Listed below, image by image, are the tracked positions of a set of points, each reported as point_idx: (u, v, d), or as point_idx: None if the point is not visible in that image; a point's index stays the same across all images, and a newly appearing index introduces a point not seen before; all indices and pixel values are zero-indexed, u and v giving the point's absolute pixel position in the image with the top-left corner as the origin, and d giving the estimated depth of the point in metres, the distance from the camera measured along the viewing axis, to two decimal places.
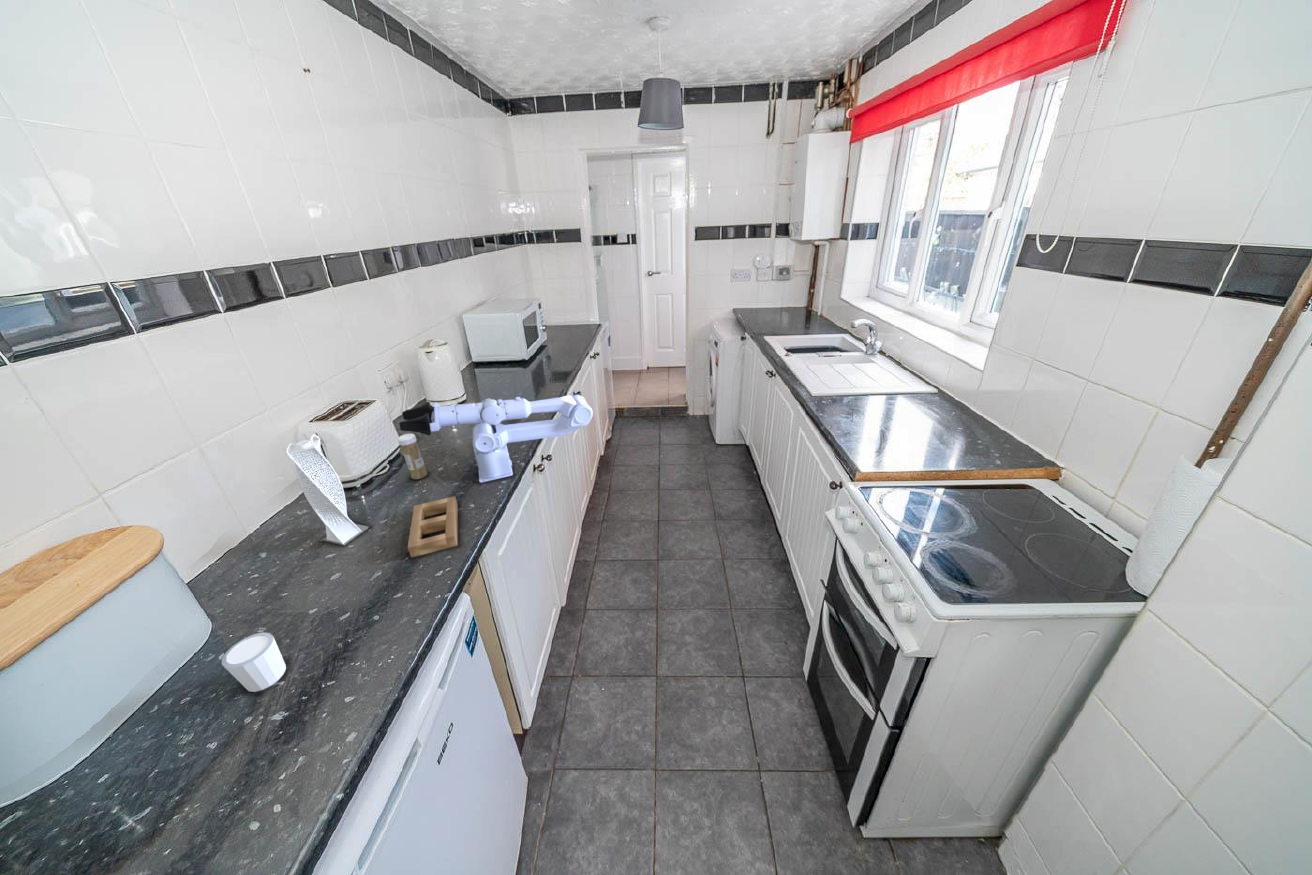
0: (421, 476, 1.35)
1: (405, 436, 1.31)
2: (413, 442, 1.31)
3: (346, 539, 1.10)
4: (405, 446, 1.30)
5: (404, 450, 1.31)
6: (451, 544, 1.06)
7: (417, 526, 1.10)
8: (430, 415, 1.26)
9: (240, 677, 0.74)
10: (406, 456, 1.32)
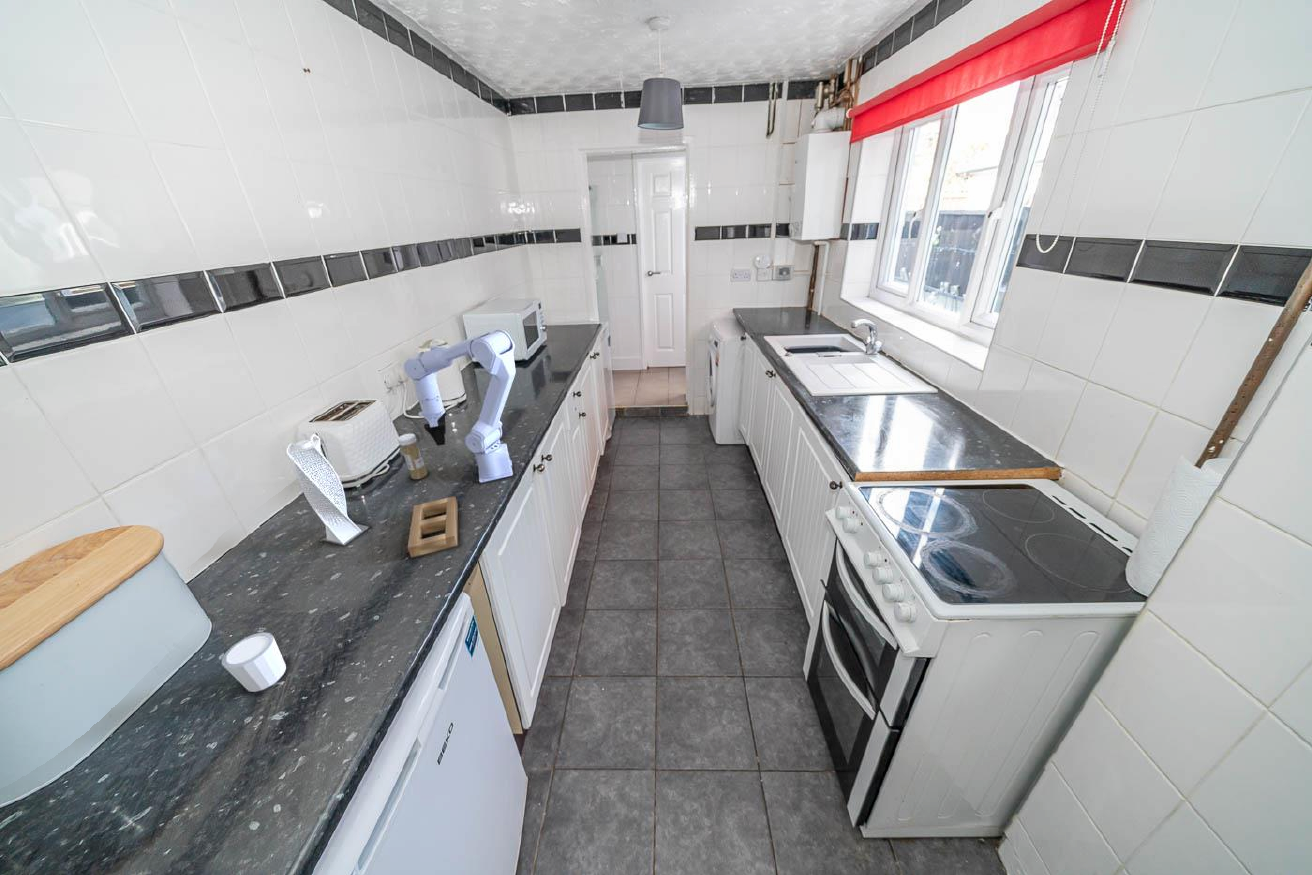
0: (421, 476, 1.35)
1: (405, 436, 1.31)
2: (413, 442, 1.31)
3: (346, 539, 1.10)
4: (405, 446, 1.30)
5: (404, 450, 1.31)
6: (451, 544, 1.06)
7: (417, 526, 1.10)
8: None
9: (240, 677, 0.74)
10: (406, 456, 1.32)
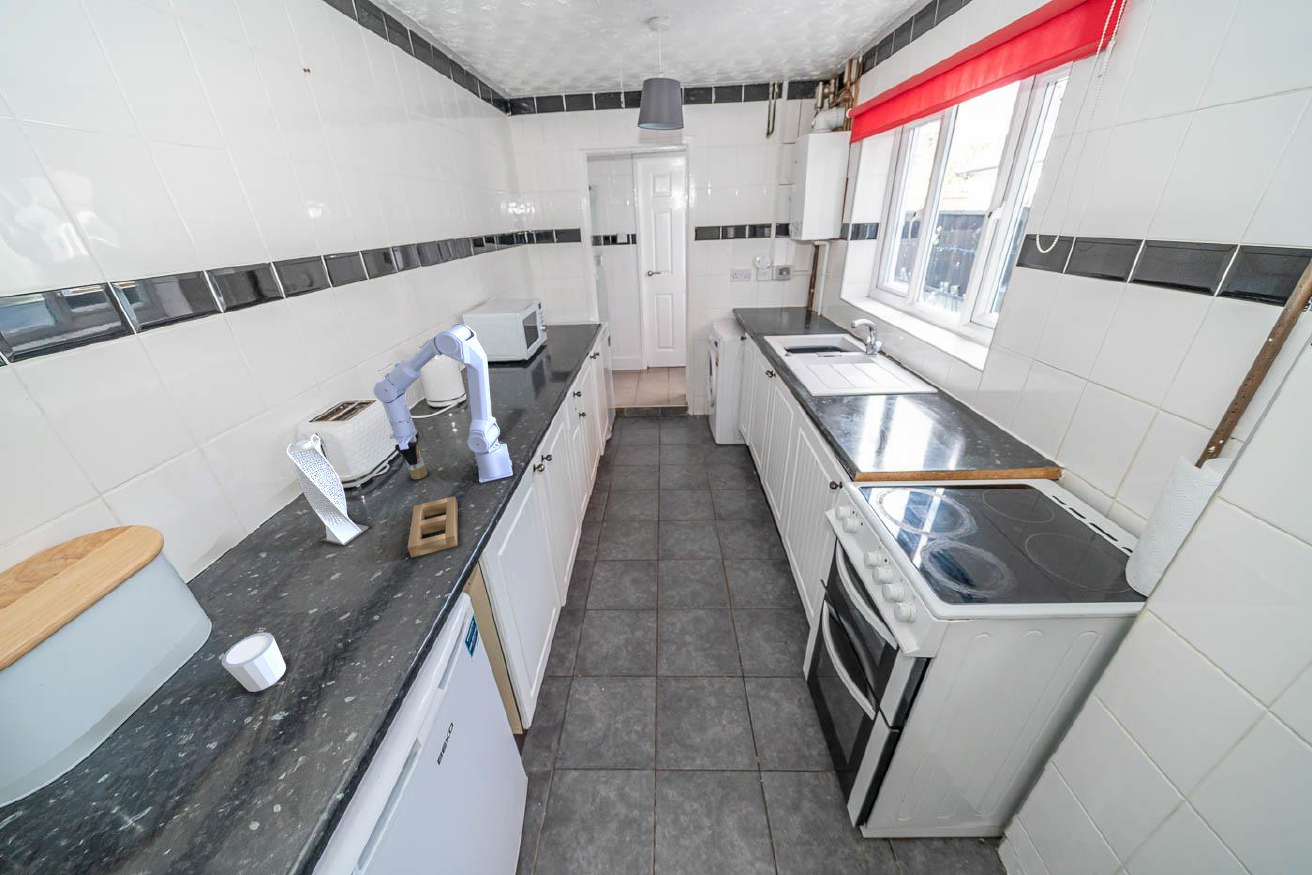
0: (421, 476, 1.35)
1: None
2: None
3: (346, 539, 1.10)
4: None
5: None
6: (451, 544, 1.06)
7: (417, 526, 1.10)
8: None
9: (240, 677, 0.74)
10: None
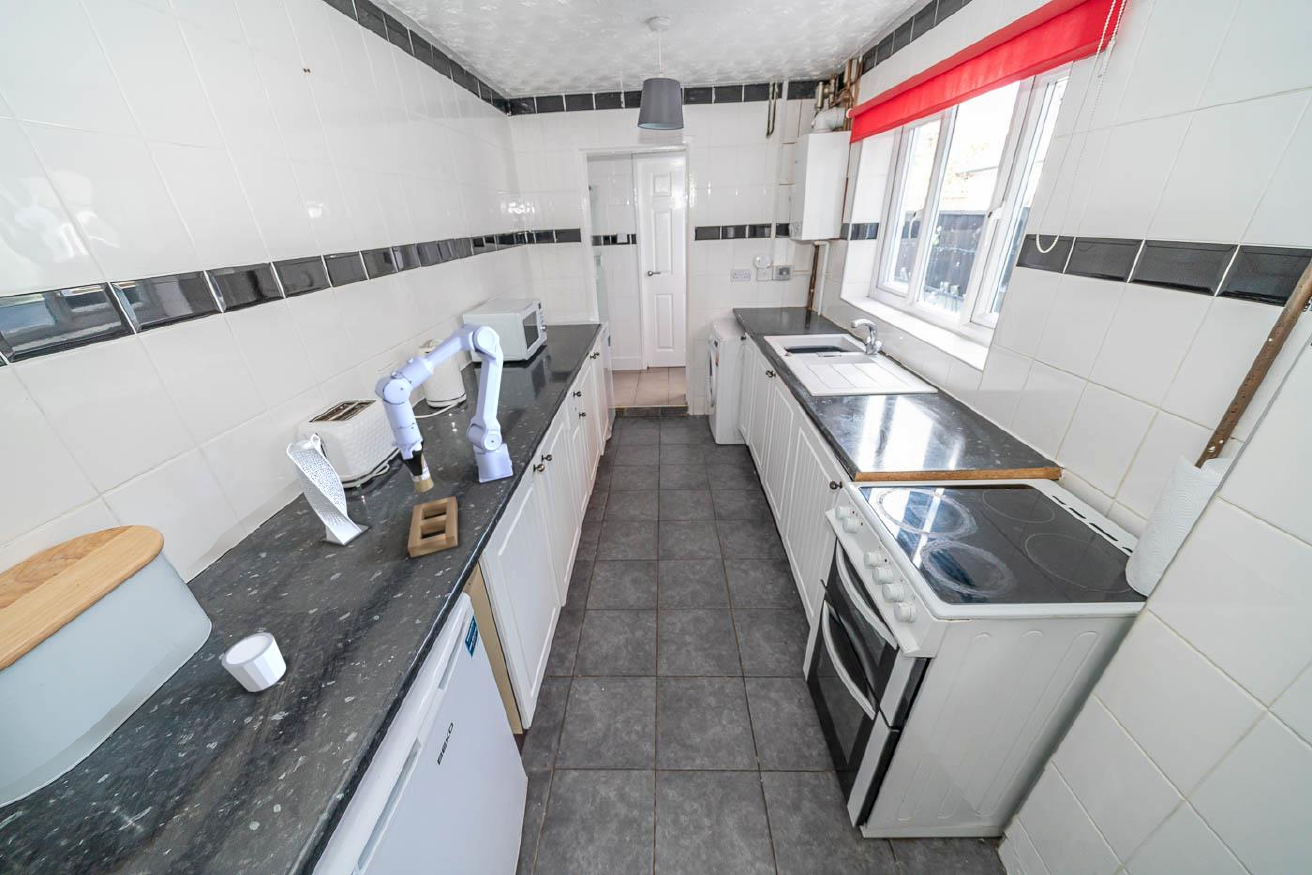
0: (427, 488, 1.20)
1: None
2: None
3: (346, 539, 1.10)
4: None
5: None
6: (451, 544, 1.06)
7: (417, 526, 1.10)
8: None
9: (240, 677, 0.74)
10: None
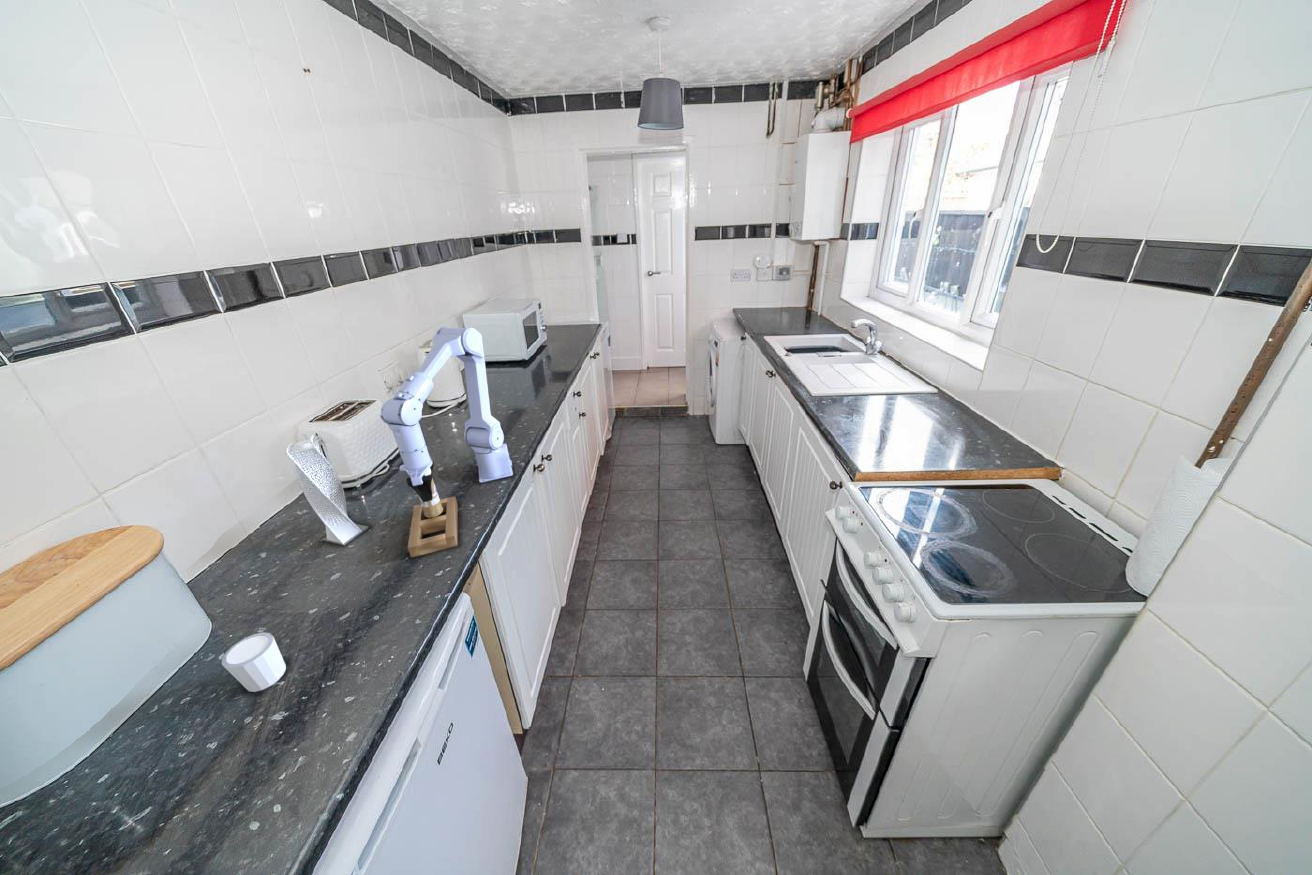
0: (436, 514, 1.14)
1: None
2: None
3: (346, 539, 1.10)
4: None
5: None
6: (451, 544, 1.06)
7: (417, 526, 1.10)
8: None
9: (240, 677, 0.74)
10: None
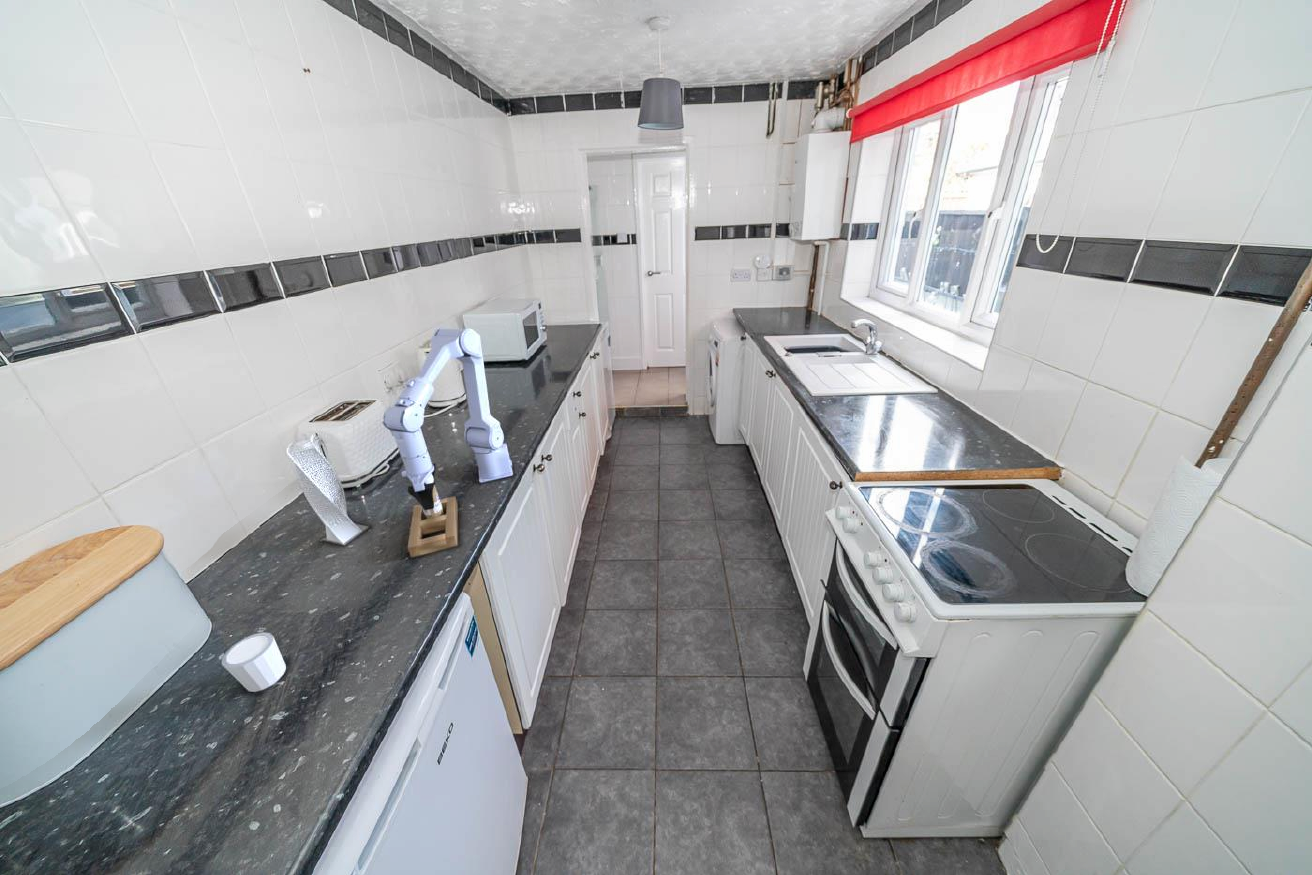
0: None
1: None
2: None
3: (346, 539, 1.10)
4: None
5: None
6: (451, 544, 1.06)
7: (417, 526, 1.10)
8: None
9: (240, 677, 0.74)
10: None
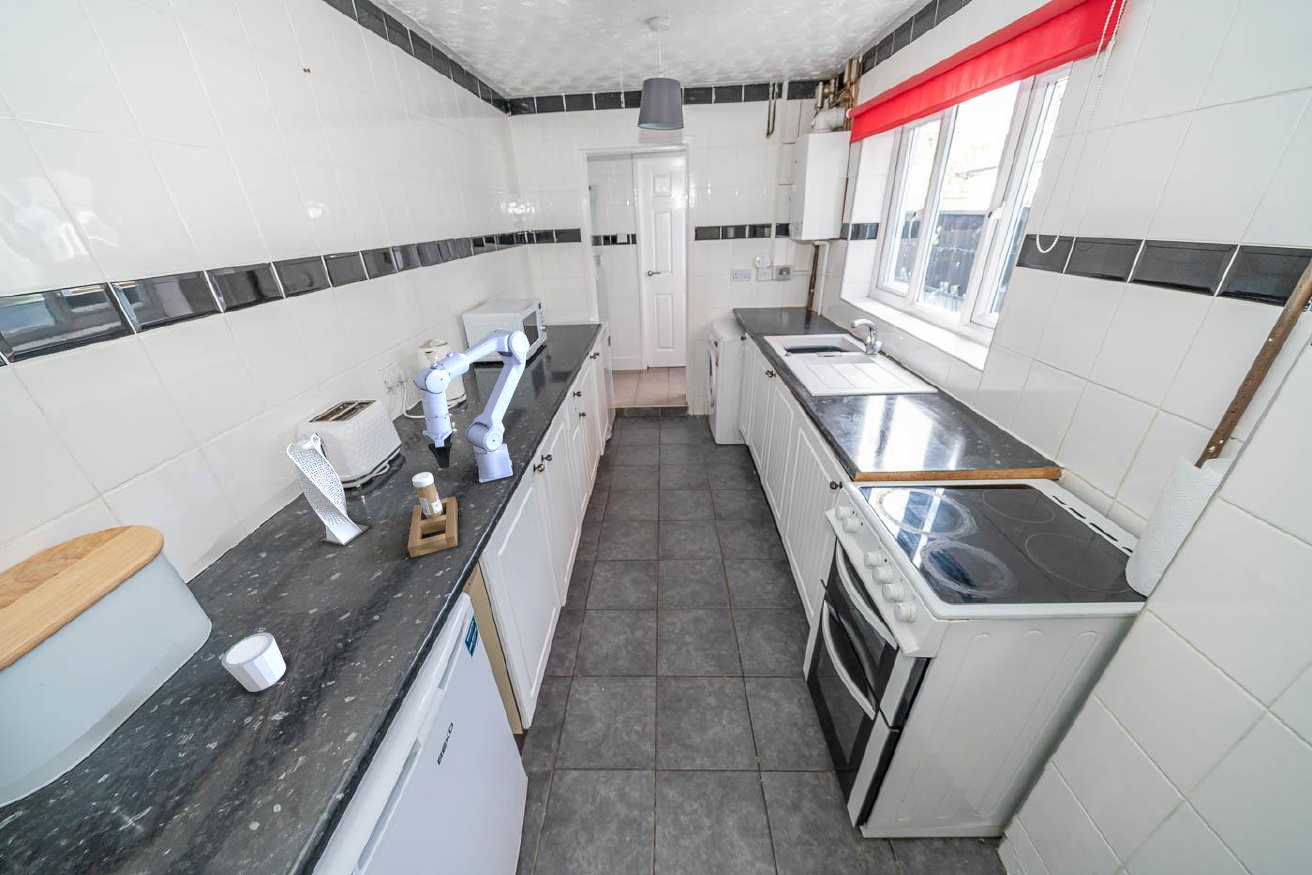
0: None
1: (420, 476, 1.10)
2: (430, 483, 1.10)
3: (346, 539, 1.10)
4: (421, 488, 1.09)
5: (419, 492, 1.10)
6: (451, 544, 1.06)
7: (417, 526, 1.10)
8: None
9: (240, 677, 0.74)
10: (422, 499, 1.11)
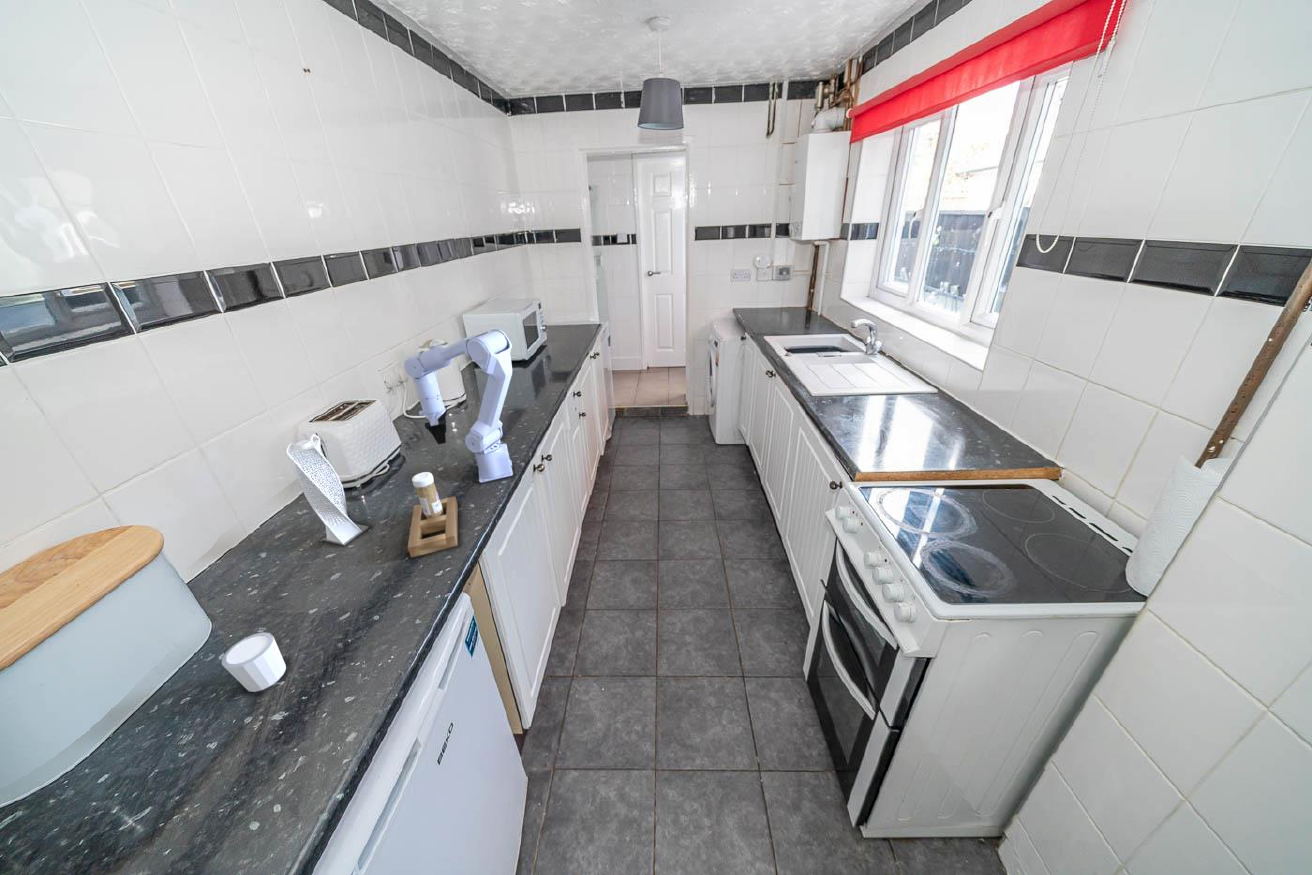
0: None
1: (420, 476, 1.10)
2: (430, 483, 1.10)
3: (346, 539, 1.10)
4: (421, 488, 1.09)
5: (419, 492, 1.10)
6: (451, 544, 1.06)
7: (417, 526, 1.10)
8: None
9: (240, 677, 0.74)
10: (422, 499, 1.11)
